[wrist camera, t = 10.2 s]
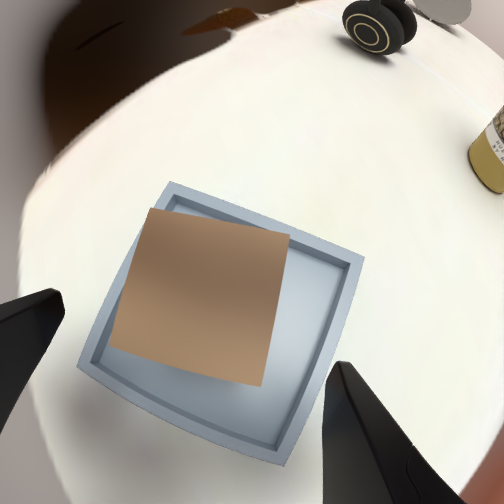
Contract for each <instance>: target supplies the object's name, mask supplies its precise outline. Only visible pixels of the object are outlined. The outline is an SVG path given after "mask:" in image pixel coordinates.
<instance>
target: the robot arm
mask: <svg viewBox="0 0 504 504" xmlns="http://www.w3.org/2000/svg"><path fill="white" fill-rule="evenodd" d="M64 315H65V308H64V304H63V299H62V295H61V293H60V291H58V290H55V289H53V288H48V289H45V290H42V291H39V292H36V293H33V294H30V295H27V296H24V297H21V298H18V299H15V300H12V301H9V302H6V303H3V304H0V434H1V432H2V430H3V427H4V425H5V423H6V421H7V419H8V417H9V415H10V413H11V411H12V409H13V407H14V406H15V404H16V402H17V400H18V398H19V396H20V394H21V393H22V391H23V389H24V387H25V385H26V384H27V382H28V380H29V379H30V377H31V375H32V373H33V372H34V370H35V368H36V367H37V365H38V363H39V362H40V360H41V358H42V357H43V355H44V354H45V352H46V350H47V348H48V346H49V345H50V343H51V341H52V339H53V337H54V335H55V333H56V331H57V329H58V327H59V325H60V323H61V322H62V320H63V318H64ZM412 445H413V443H412V442H411V441H410V439H409V438H408V437H407V435H406V434H405V433H404V431H403V430H402V429H401V428H400V426H399V425H398V424H397V422H396V421H395V420H394V418H393V417H392V416H391V414H390V413H389V412H388V411H387V409H386V408H385V407H384V405H383V404H382V403H381V401H380V400H379V399H378V398H377V396H376V395H375V394H374V392H373V391H372V390H371V388H370V387H369V386H368V385H367V383H366V382H365V381H364V379H363V378H362V377H361V375H360V374H359V373H358V372H357V370H356V369H355V368H354V366H353V365H352V364H351V363H350V362H345V361H337V362H336V363H335V364H334V366H333V368H332V370H331V372H330V374H329V376H328V378H327V380H326V385H325V399H324V411H323V423H322V448H323V504H467V503H465V502H464V501H463V500H462V499H461V498H460V497H459V496H458V495H457V494H456V493H455V492H454V491H453V490H452V489H451V488H450V487H449V486H448V485H447V484H446V482H445V481H444V480H443V479H442V478H441V477H440V476H439V475H438V474H437V473H436V472H435V471H434V469H433V468H432V467H431V466H430V465H429V464H428V462H427V461H426V460H425V459H424V457H423V456H422V455H421V454H420V452H419V451H418V450H417V448H416V447H415V446H414V445H413V446H412Z"/></svg>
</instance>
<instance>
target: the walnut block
mask: <svg viewBox="0 0 504 504" xmlns="http://www.w3.org/2000/svg"><path fill="white" fill-rule="evenodd" d="M289 239H290V234H286V233H281V232H276V231H271V230H266V229H261V228H256V227H251V226H246V225H241V224H236V223H231V222H226V221H221V220H215V219H210V218H205V217H200V216H194V215H189V214H183V213H178V212H172V211H167V210H161V209H156V208H150V210H149V212H148V215H147V218H146V221H145V223H144V226H143V229H142V232H141V235H140V237H139V240H138V243H137V246H136V249H135V252H134V255H133V258H132V262H131V265H130V268H129V271H128V275H127V278H126V281H125V285H124V288H123V292H122V295H121V299H120V302H119V306H118V310H117V314H116V317H115V321H114V325H113V329H112V334H111V338H110V342H109V346H111V347H114V348H116V349H119V350H122V351H125V352H128V353H131V354H134V355H137V356H140V357H143V358H146V359H149V360H152V361H155V362H158V363H162V364H165V365H169V366H172V367H176V368H179V369H183V370H186V371H190V372H194V373H198V374H202V375H206V376H210V377H214V378H219V379H223V380H227V381H232V382H237V383H242V384H247V385H252V386H257V387H261V385H262V380H263V376H264V371H265V366H266V362H267V357H268V352H269V347H270V342H271V337H272V332H273V327H274V322H275V317H276V312H277V306H278V301H279V296H280V290H281V285H282V279H283V274H284V268H285V263H286V257H287V251H288V245H289Z"/></svg>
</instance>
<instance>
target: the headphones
mask: <svg viewBox="0 0 504 504" xmlns="http://www.w3.org/2000/svg"><path fill="white" fill-rule="evenodd" d="M404 2H405V0H369V1H368V0H360V1H355V2H353V3H351V4H350V5H349V6H347V7H346V9H345V10H344V12H343V16H342V20H343V25H344V28H345V30H346V32H347V33H348V35H349V36H350V38H351V39H352V40H353V41H354V42H355V43H356V44H358V45H359V46H360V47H362V48H363V49H365V50H367V51H369V52H372V53H375V54H379V55H389V54H392V53H394V52H396V51H398V50H399V49H400V47H401V46H402V45H404V44H406V43H408V42H409V41H411V40H412V39H413V37H414V36H415V34H416V31H417V21H416V18H415V15H414V14H413V12H412V10H411V9H410V8H409V7H408V6H407V5H406V4H405V3H404Z"/></svg>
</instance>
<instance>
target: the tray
mask: <svg viewBox="0 0 504 504" xmlns="http://www.w3.org/2000/svg"><path fill="white" fill-rule="evenodd" d="M153 208H156V209H161V210H167V211H172V212H178V213H183V214H189V215H194V216H200V217H205V218H210V219H215V220H221V221H226V222H231V223H236V224H241V225H246V226H251V227H256V228H261V229H266V230H271V231H276V232H281V233H286V234H290V239H289V245H288V251H287V257H286V263H285V268H284V274H283V279H282V285H281V290H280V296H279V301H278V306H277V312H276V317H275V322H274V327H273V332H272V337H271V342H270V347H269V352H268V357H267V362H266V366H265V371H264V376H263V380H262V385H261V387H257V386H252V385H247V384H242V383H237V382H232V381H227V380H223V379H219V378H214V377H210V376H206V375H202V374H198V373H194V372H190V371H186V370H183V369H179V368H176V367H172V366H169V365H165V364H162V363H158V362H155V361H152V360H149V359H146V358H143V357H140V356H137V355H134V354H131V353H128V352H125V351H122V350H119V349H116V348H114V347H111V346H109V342H110V338H111V334H112V329H113V325H114V321H115V317H116V314H117V310H118V306H119V302H120V299H121V295H122V292H123V288H124V285H125V281H126V278H127V275H128V271H129V268H130V265H131V262H132V258H133V255H134V252H135V249H136V246H137V243H138V240H139V237H140V235H141V232H142V229H143V226H144V225H143V226H142V228H141V230H140V232H139V234H138V235H137V237H136V239H135V241H134V243H133V244H132V246H131V248H130V250H129V252H128V254H127V256H126V258H125V259H124V261H123V263H122V265H121V267H120V269H119V271H118V273H117V275H116V277H115V279H114V281H113V283H112V285H111V287H110V289H109V292H108V294H107V296H106V298H105V300H104V302H103V304H102V306H101V309H100V311H99V313H98V315H97V318H96V320H95V322H94V324H93V327H92V329H91V331H90V334H89V336H88V339H87V341H86V343H85V346H84V348H83V351H82V353H81V356H80V359H79V361H78V364H77V366H76V367H78V368H79V369H80V370H82V371H83V372H85V373H86V374H87V375H89V376H90V377H92V378H93V379H95V380H96V381H98V382H99V383H101V384H102V385H104V386H105V387H107V388H108V389H110V390H111V391H113V392H115V393H116V394H118V395H120V396H121V397H123V398H124V399H126V400H128V401H130V402H131V403H133V404H135V405H136V406H138V407H140V408H142V409H144V410H145V411H147V412H149V413H151V414H153V415H155V416H157V417H159V418H161V419H162V420H164V421H166V422H168V423H170V424H172V425H175V426H177V427H179V428H181V429H183V430H185V431H187V432H189V433H192V434H194V435H196V436H199V437H201V438H203V439H206V440H208V441H210V442H213V443H215V444H218V445H220V446H223V447H225V448H228V449H231V450H234V451H236V452H239V453H242V454H245V455H248V456H251V457H254V458H257V459H260V460H263V461H266V462H270V463H273V464H277V465H280V466H284V465H285V463H286V461H287V459H288V458H289V456H290V454H291V452H292V450H293V448H294V446H295V444H296V442H297V440H298V437H299V435H300V433H301V431H302V429H303V427H304V425H305V423H306V420H307V418H308V416H309V414H310V412H311V409H312V407H313V405H314V403H315V400H316V398H317V396H318V393H319V391H320V388H321V386H322V383H323V381H324V379H325V376H326V374H327V371H328V368H329V366H330V363H331V361H332V358H333V355H334V353H335V350H336V347H337V344H338V342H339V339H340V336H341V333H342V330H343V327H344V324H345V321H346V318H347V315H348V312H349V309H350V306H351V303H352V300H353V296H354V293H355V290H356V286H357V283H358V280H359V276H360V273H361V269H362V265H363V262H364V258H365V257H364V256H361V255H359V254H357V253H354V252H352V251H350V250H347V249H345V248H343V247H340V246H338V245H335V244H333V243H331V242H328V241H326V240H323V239H321V238H319V237H316V236H314V235H311V234H309V233H306V232H304V231H301V230H299V229H296V228H294V227H291V226H289V225H286V224H284V223H281V222H279V221H276V220H274V219H271V218H269V217H266V216H263V215H261V214H258V213H256V212H253V211H250V210H248V209H245V208H243V207H240V206H237V205H235V204H232V203H229V202H227V201H224V200H221V199H219V198H216V197H213V196H210V195H208V194H205V193H202V192H199V191H197V190H194V189H191V188H188V187H185V186H183V185H180V184H177V183H174V182H171V181H169V183H168V185H167V186H166V188H165V189H164V191H163V193H162V194H161V196H160V198H159V199H158V201H157V202H156V204H155V206H154V207H153Z"/></svg>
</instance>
